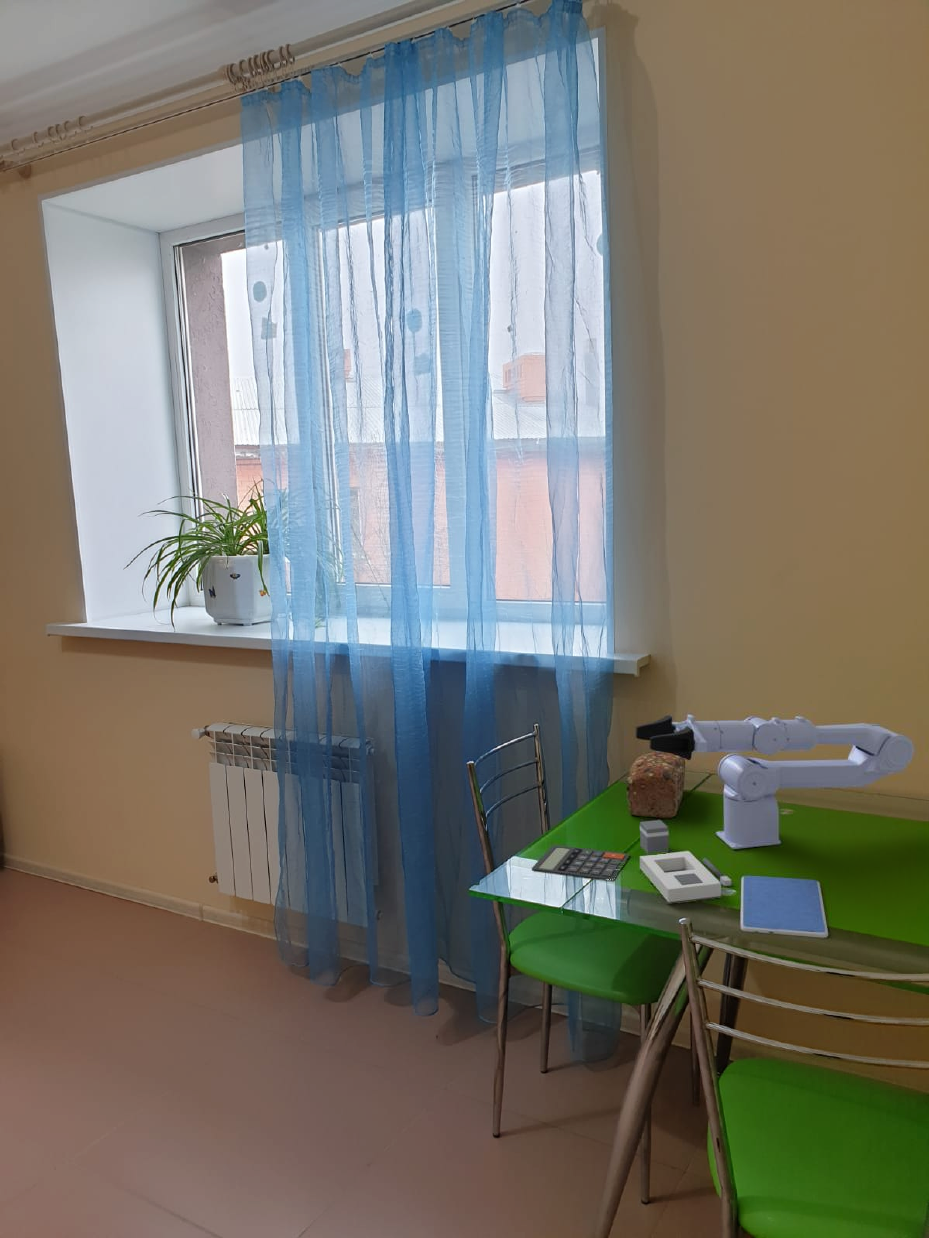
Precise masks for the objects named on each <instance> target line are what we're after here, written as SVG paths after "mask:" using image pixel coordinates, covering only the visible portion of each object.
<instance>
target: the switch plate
mask: <svg viewBox="0 0 929 1238" xmlns="http://www.w3.org/2000/svg"><path fill="white" fill-rule="evenodd" d="M640 869H641V870H642V871H643V873H645V875H646V876H647V877H648V878H649V879H650V881H651V882H652V883H653V884H654V886H656V888H657V889H658V890H659V891H660V893H661V894H662V895H663V897H664V898H665V899H666V900H667V902H668V903H677V902H683V901H690V900H691V901H692V900H703V901H708V900H707V899H711V900H716V899H715V898H719V897H721V898H722V883H721V882H720V880H719V879H718V878H716V876H714V875H713V874H712V872H710V871H709V870H708V869H707V868H706V866H704V865H703V864H702V863H701V861H700V860H699V859H697V858H696V857H695V856H694V854H692V853H691V852H690V851H689V850H685V851H677V852H675V851H674V852H669V853H666V854H657V855H640V856H639V870H640ZM643 873H642V874H643ZM667 902H666V903H667Z"/></svg>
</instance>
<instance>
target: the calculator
mask: <svg viewBox="0 0 929 1238" xmlns="http://www.w3.org/2000/svg"><path fill="white" fill-rule="evenodd" d="M611 852H612V853H611ZM625 855H626V856H625ZM627 855H630V856H631V854H630V853H626V852H625V853H624V852H617V851H607V850H599V849H593V848H592V849H591V848H582V847H574V846H566V845H565V846H564V845H558V844H552V845H551V846H550V847H549V849H548V850H547V851H546V852H544V854H543V855H542V856H541V857H540V859H538V860H537V862H536V863H535V864H534V865H533V866H532V868H531V871H532V872H539V873H540V872H541V873H548V874H555V875H563V876H564V875H565V876H569V877H570V876H571V877H577V878H578V877H579V878H586V879H594V880H599V879H609V880H610V879H611V880H612V879H614V878H615V879H616V877H617V876H616V874H617V873H618V872H619V870H615V869H620V868H621V867H618V866H623V864H624V863H620V862H626V860H627V859H628V857H629V856H627ZM629 858H630V857H629ZM624 859H625V860H624ZM628 860H629V859H628ZM628 860H627V861H628ZM610 862H611V863H610ZM626 863H627V862H626ZM624 865H625V864H624ZM623 867H624V866H623ZM619 873H620V872H619ZM619 873H618V874H619ZM618 874H617V875H618ZM615 876H616V877H615ZM615 879H614V880H615Z"/></svg>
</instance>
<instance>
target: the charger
mask: <svg viewBox="0 0 929 1238" xmlns="http://www.w3.org/2000/svg"><path fill="white" fill-rule="evenodd" d="M639 834H640V835H639V836H640V839H639V840H640V848H641V847H642V849H644V850H645V852H647V854H650V853H651V854H652V853H659V852H669V853H670V851H669V843H670V842H669V834H670V833H669V827H668V826H667V825H666V823H664V822H663V821H662V820H661V819H657V820H656V819H655V820H649V821H647V820H645V821H640V822H639ZM642 849H641V850H642ZM645 852H644V853H645ZM647 854H646V855H647Z"/></svg>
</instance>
